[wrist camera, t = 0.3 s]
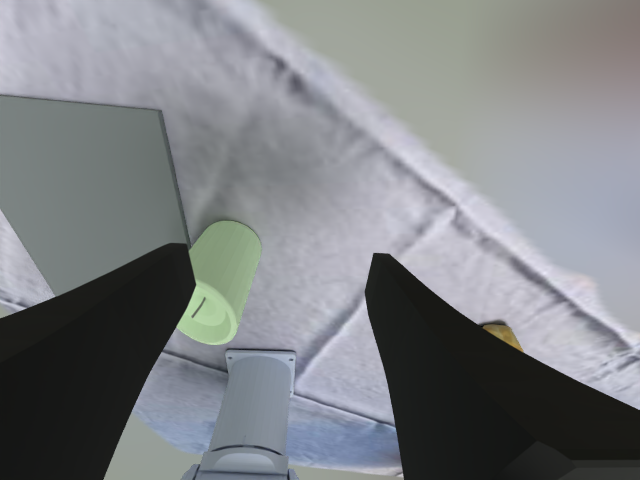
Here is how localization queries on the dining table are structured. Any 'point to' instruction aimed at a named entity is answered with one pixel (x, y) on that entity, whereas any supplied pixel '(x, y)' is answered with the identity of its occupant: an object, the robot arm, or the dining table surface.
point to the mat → (86, 186)
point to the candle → (220, 281)
